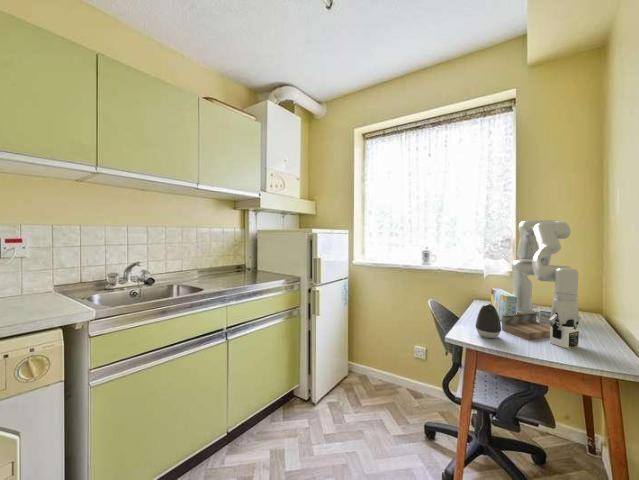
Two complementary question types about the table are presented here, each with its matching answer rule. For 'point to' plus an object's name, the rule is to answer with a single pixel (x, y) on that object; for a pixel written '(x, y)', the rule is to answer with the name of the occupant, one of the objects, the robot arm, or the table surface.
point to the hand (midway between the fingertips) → (564, 337)
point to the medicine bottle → (566, 335)
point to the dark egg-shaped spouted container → (488, 322)
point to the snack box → (503, 302)
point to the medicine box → (545, 317)
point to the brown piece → (525, 326)
